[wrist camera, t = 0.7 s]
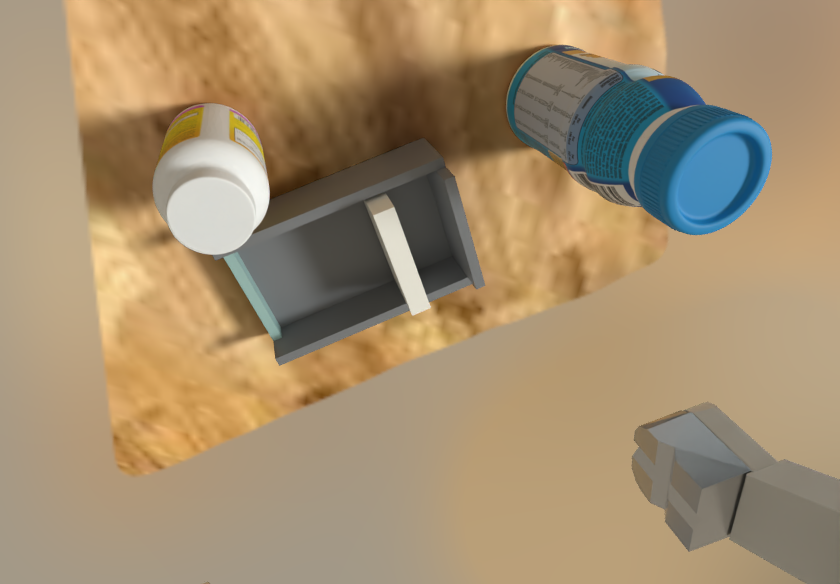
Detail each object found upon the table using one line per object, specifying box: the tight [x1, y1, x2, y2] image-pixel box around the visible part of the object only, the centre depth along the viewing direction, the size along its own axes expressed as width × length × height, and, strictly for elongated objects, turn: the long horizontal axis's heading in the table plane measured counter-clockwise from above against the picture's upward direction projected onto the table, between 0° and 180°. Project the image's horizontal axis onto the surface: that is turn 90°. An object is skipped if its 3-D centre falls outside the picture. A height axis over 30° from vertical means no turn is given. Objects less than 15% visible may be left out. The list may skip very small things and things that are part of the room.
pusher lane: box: [212, 138, 485, 366], centre depth 45 cm, size 12×18×7 cm, turn 107°
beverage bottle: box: [506, 45, 772, 235], centre depth 39 cm, size 8×8×20 cm
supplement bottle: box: [153, 103, 270, 255], centre depth 36 cm, size 7×7×13 cm
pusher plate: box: [364, 192, 431, 316], centre depth 45 cm, size 9×2×6 cm, turn 17°
